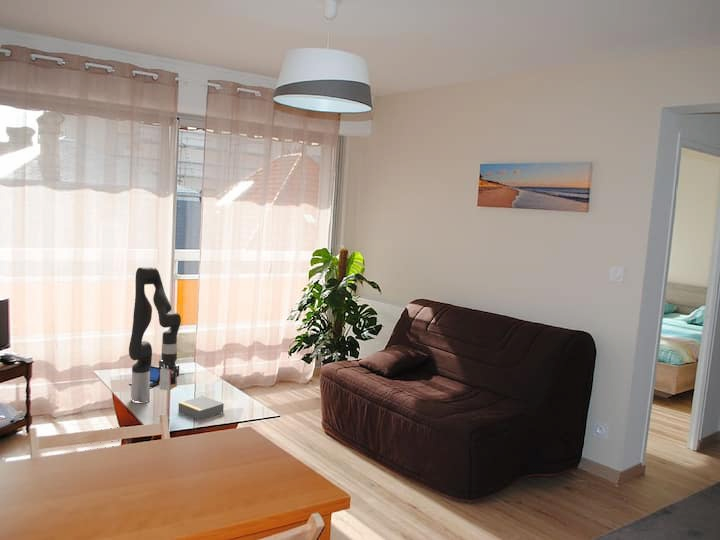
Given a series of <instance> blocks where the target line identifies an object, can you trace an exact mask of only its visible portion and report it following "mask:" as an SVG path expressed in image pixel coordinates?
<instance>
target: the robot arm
mask: <svg viewBox="0 0 720 540" xmlns="http://www.w3.org/2000/svg"><path fill="white" fill-rule="evenodd" d="M146 285H153V286H154V289H155V290H154V293H153V299H152V301H153V304H154V307H155V309H156V312H157V315H158V323H159V325H160V326H161V327H162V328H163V329H164V328H169V329H168V330H165V331H164V332H162V345H161V359H159V361H158V367H159V372H160V370H161V368H162V369H163V368H167V369H168V370H173V369H174V371H171V377H172V378H171V384H172V385H173V384H175V383H176V377H177V378H178V377H179V376H180V365H179V364H178V365H177V364H176V361H177V359H178V342H177V341H178V333H179V329H180V326H181V323H182V317H181V315H180V313H178V312H171V311H172V305H171V303H170V301H169V299H168V297H167V295H166V292H165V287H164V285H163V282H162V278H161V274H160V272H159V270H158V269H157V267H155V266H154V267H153V266H141V267H138V268H137V269H136V272H135V298H134V308H133V315H132V317H133V320H132V328H131V337H130V342H129V347H128V354H129V357H130V359H131V360H132V361H136V362H135V363H134V364H133V365H132V366H131V381H132V384H131V386H130V397H131V398H132V400H134V401H139V402H146V401H148V402H150V395H151V394H150V389H151V388H150V367H151V366H152V362H153V361H152V360H153V347H152V344H151V343H150V342H149V341H147V340H143V337H144V334H145V333H146V331H147V329H148V327H149V325H150V324H151V321H152V318H153V317H152V314H153V306H152V305H151V302H150V300H149V299H148V297H147V295H146V292H145V286H146ZM173 373H174V375H173ZM176 373H177V374H176ZM131 398H130V399H131ZM132 400H131V401H132ZM146 403H147V402H146Z"/></svg>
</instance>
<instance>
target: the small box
mask: <svg viewBox="0 0 720 540" xmlns="http://www.w3.org/2000/svg"><path fill="white" fill-rule="evenodd" d="M171 371H174V369H173V370H168V369H167V368H163V369H161V370H160V382H159V390H162V391H171V390H172V389H174V388H176V387H178V377H176V383H175V384H173V385H172V384H171V378H172V377H171ZM176 374H177V373H176ZM173 375H174V373H173Z"/></svg>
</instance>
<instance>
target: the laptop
mask: <svg viewBox="0 0 720 540" xmlns="http://www.w3.org/2000/svg"><path fill="white" fill-rule="evenodd" d="M161 369H162V367H161ZM157 386H160V372H159V366H152V365H151V367H150V387H152V388H154V387H157Z"/></svg>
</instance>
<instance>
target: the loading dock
mask: <svg viewBox="0 0 720 540" xmlns="http://www.w3.org/2000/svg"><path fill="white" fill-rule="evenodd" d="M224 407H225V406H224V403H223V402H221V401H218V400H216V399H213V398H210V397H208V396H205V395H202V396H201V395H200V396H198V397H194V398H192V399H188V400H185V401H178V413H180V414H182V415H185V416H187V417H189V418H192V419H194V420H197V421H202V420H205V419H208V418H211V417H213V416H217V415H219V413H220V414H222V413H221V412H223V413H224ZM216 414H217V415H216Z"/></svg>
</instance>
